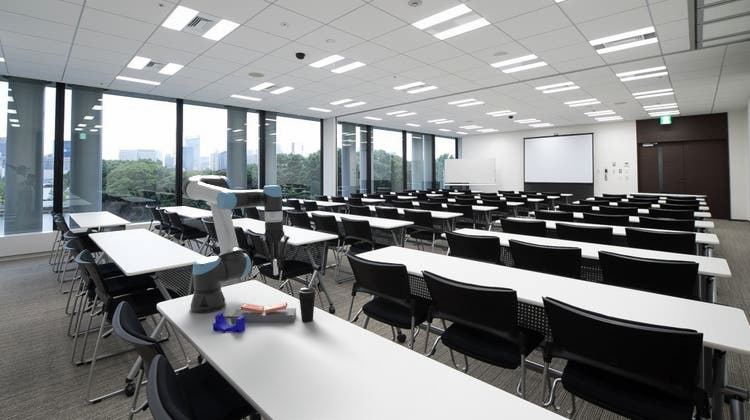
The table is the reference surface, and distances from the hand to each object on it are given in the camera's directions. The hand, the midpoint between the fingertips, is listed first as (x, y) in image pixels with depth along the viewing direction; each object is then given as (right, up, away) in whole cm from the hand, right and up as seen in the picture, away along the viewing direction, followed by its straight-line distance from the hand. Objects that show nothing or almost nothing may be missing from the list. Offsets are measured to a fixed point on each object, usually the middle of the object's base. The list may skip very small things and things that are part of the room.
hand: (276, 274), depth 158 cm
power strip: (-7, -20, -1) cm, 21 cm away
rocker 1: (-10, -15, -1) cm, 18 cm away
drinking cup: (+14, -20, -1) cm, 24 cm away
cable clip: (-16, -21, -12) cm, 29 cm away
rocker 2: (0, -15, 0) cm, 15 cm away
